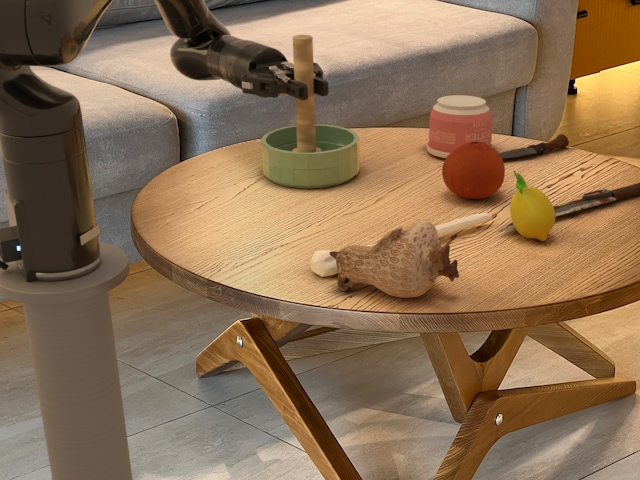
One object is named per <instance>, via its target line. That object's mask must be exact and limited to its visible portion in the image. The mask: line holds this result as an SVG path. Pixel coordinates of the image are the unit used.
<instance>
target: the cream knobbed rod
mask: <svg viewBox="0 0 640 480" xmlns="http://www.w3.org/2000/svg"><path fill="white" fill-rule="evenodd" d="M492 218H493V216H492V214H490V213H488V212H481V213H477V214H472V215H467V216H464V217H461V218H457V219H455V220H451V221H448V222H445V223H441V224H438V225H434V226H435V228H436V230H437V234H438V238H439V239H441V238H444V237H446V236H449V235H452V234H455V233H457V232H461V231H464V230H467V229H470V228H472V227H475V226H478V225H480V224H483V223H485V222H488V221H490V220H491V219H492ZM376 244H377V243H374V244H369V245H368V246H373V245H376ZM331 251H333V250H331V249H319V250H315V252H314V253H313V254H312V255H311V256H312V257H311V260H310V270H311V272H313V273H314V274H316V275H318V276H319V277H322V278H324V277H331V276H334V275H337V274H338V268H337V264H336V259H335V258H333V257H332V256H331V255H330V252H331Z"/></svg>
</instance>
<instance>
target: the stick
mask: <svg viewBox="0 0 640 480" xmlns="http://www.w3.org/2000/svg"><path fill="white" fill-rule="evenodd" d="M292 53H293V56H292V59H293V65H294V80H295V81H298V82H301V83H304V84H306V85H307V87H308V99H307V100H300V99H298V98H295V97H294V103H295V104H294V105H295V106H294V107H295V125H296V132H297V148H295V149H293V150H292V152H322V150H321V149H320V148H317V147H316V128H315V124H316V103H315V102H316V101H315V99H316V98H315V93H314V67H313V63H314V39H313V36H312V35H310V34H296V35H293V36H292Z"/></svg>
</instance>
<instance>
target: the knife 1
mask: <svg viewBox="0 0 640 480" xmlns="http://www.w3.org/2000/svg"><path fill="white" fill-rule="evenodd" d="M569 144H570V141H569V139H568V137H567V136H566V135H565V134H564V133H559V134H558V135H557V136H556V137H555V138H553V139H552V140H550V141H548V142H540V143H537V144H531V145H528V146H526V147H520V148H514V149H510V150H506V151H503V152H498V153H499V154H500V156H501V157H502V160H505V159H513V158H521V157H526V156H535V155H540V154H544V153H546V152H552V151H554V150H556V149H557V150H558V149H560V148H563V149H564V148H567V147H568V146H569Z"/></svg>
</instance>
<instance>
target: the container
mask: <svg viewBox="0 0 640 480" xmlns="http://www.w3.org/2000/svg"><path fill="white" fill-rule="evenodd" d="M436 101H437V103H435V104H434V105H433V107H432V109H431V111H430V114H429V125H428V126H429V130H428V142H426V151H427V152H428V154H431V155H432V156H435V157H438V158H442V159H446V158H447V156H448V155H449V154H450V153H451V152H452V151H453V150H455V149H456V148H458V147H460V146H461V145H463V144H467V143H470V142H474V141H479V142H484V143H486V144H488V145H489V146H491V147H493V148H494V146H493V144H492V140H493V137H492V136H493V134H492V133H493V117H492V112H491V109H490V107H489V106H488V105H487V101H486V99H484V98H482V97H479V96H474V95H465V94H463V95H462V94H461V95H460V94H455V95H445V96H441V97H439V98H437V100H436Z"/></svg>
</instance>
